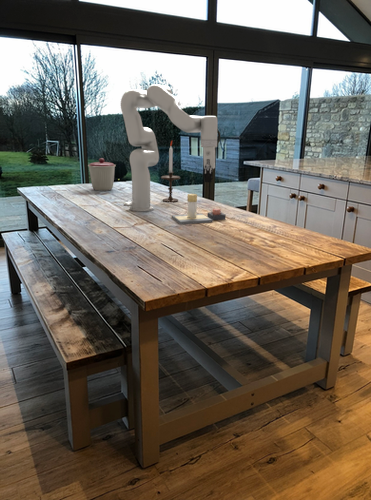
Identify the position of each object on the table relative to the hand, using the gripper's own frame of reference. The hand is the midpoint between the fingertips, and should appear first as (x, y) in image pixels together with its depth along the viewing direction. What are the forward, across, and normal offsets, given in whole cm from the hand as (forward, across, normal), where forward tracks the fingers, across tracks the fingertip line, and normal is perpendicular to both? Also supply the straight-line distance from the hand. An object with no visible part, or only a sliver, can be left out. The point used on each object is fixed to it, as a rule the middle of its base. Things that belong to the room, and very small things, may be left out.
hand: (208, 180), depth 194 cm
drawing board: (+18, -3, +8) cm, 20 cm away
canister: (+16, +73, +76) cm, 107 cm away
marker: (+17, -3, +8) cm, 19 cm away
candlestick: (+18, +43, +25) cm, 53 cm away
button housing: (+19, +3, -4) cm, 19 cm away
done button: (+17, +3, -4) cm, 18 cm away
